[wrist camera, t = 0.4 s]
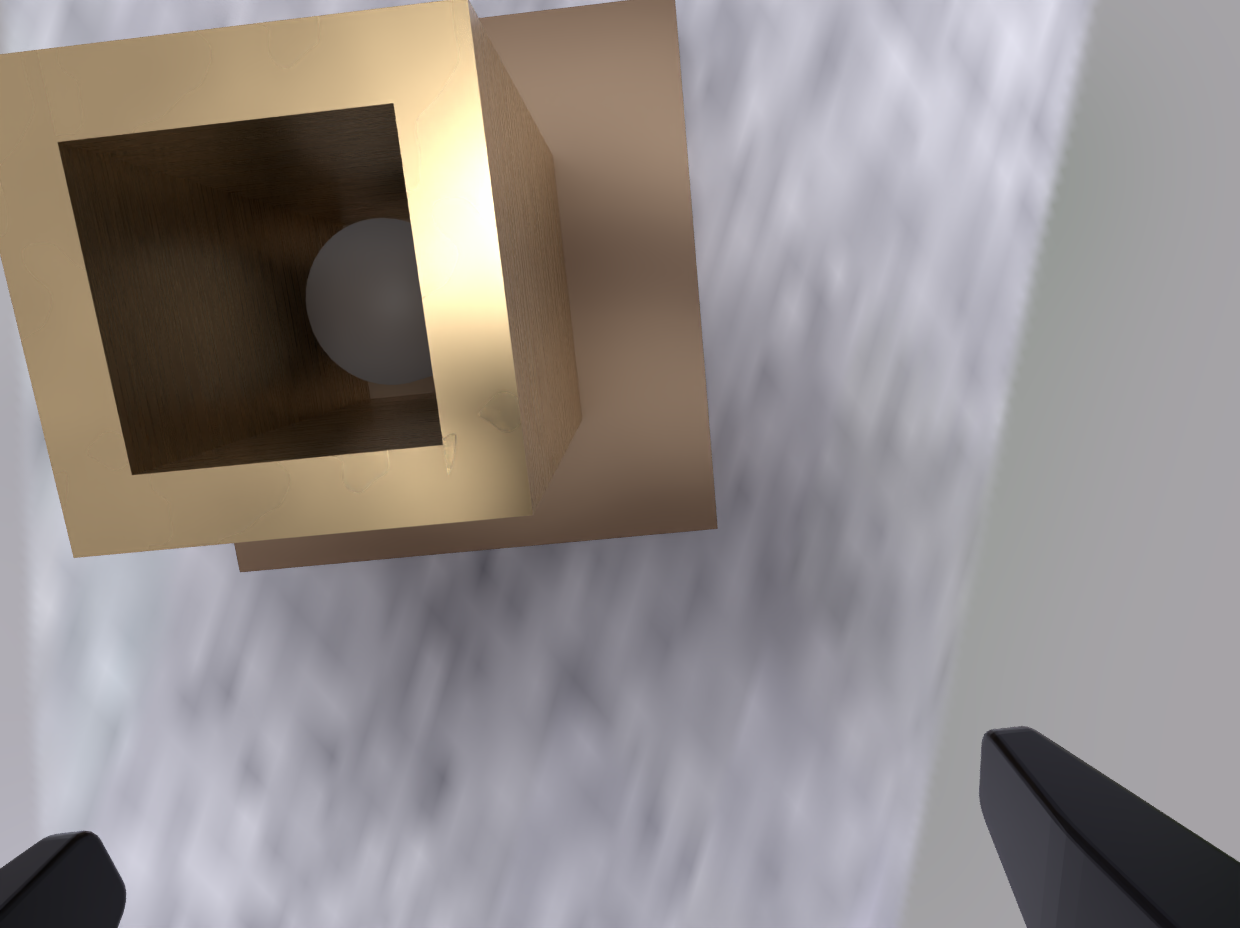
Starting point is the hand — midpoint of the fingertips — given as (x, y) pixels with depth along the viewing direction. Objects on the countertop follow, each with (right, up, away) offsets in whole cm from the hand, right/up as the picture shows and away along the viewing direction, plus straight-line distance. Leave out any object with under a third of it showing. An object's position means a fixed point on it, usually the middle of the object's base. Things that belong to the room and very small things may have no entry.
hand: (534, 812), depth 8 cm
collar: (-3, +7, +10) cm, 13 cm away
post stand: (-3, +8, +13) cm, 15 cm away
